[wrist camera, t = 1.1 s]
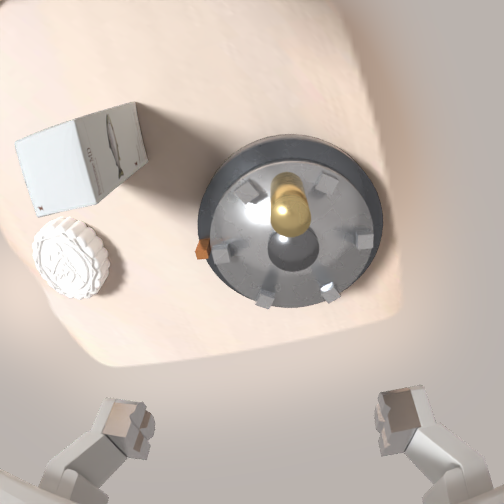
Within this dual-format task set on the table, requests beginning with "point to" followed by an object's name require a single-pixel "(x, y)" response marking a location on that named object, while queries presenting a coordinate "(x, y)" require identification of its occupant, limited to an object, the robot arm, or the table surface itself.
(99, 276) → the mooncake
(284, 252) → the studded round base
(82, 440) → the robot arm
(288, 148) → the grey round platform
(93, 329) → the table surface
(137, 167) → the supplement box
